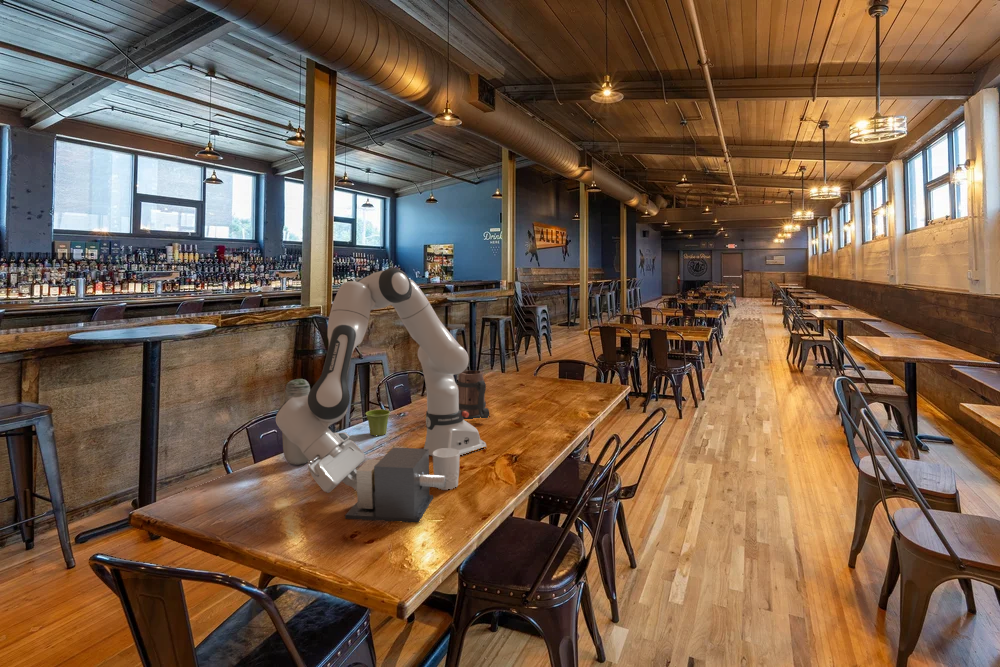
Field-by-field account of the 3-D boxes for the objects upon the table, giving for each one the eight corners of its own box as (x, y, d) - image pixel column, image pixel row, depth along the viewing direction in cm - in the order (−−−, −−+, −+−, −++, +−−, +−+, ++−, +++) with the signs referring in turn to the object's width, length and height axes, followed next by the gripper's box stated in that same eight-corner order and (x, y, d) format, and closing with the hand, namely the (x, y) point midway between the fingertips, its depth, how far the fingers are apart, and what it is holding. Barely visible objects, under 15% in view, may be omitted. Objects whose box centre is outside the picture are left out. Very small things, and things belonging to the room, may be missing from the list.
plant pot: (394, 431, 197) (394, 410, 196) (384, 438, 188) (383, 416, 187) (373, 429, 199) (372, 408, 198) (361, 436, 190) (360, 414, 189)
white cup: (433, 480, 148) (433, 448, 147) (460, 479, 148) (459, 447, 147) (432, 491, 140) (431, 457, 139) (460, 490, 141) (459, 456, 140)
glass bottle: (298, 470, 156) (294, 383, 153) (277, 465, 161) (273, 380, 158) (323, 460, 165) (320, 378, 162) (302, 455, 170) (299, 375, 167)
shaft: (357, 508, 127) (356, 470, 126) (369, 494, 135) (368, 459, 134) (441, 512, 124) (440, 474, 123) (448, 498, 132) (447, 462, 131)
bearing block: (345, 518, 124) (343, 465, 123) (366, 495, 138) (365, 446, 136) (418, 522, 122) (417, 468, 120) (433, 498, 136) (432, 449, 134)
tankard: (446, 414, 222) (445, 370, 220) (479, 409, 230) (479, 367, 228) (468, 427, 202) (468, 379, 200) (504, 421, 210) (504, 375, 208)
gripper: (312, 455, 120) (352, 496, 120) (348, 430, 140) (382, 465, 140) (296, 472, 121) (335, 512, 121) (334, 445, 141) (367, 479, 141)
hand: (361, 487), depth 130 cm, fingers closed, pressing on shaft
